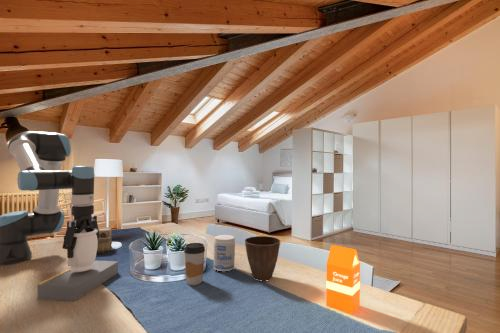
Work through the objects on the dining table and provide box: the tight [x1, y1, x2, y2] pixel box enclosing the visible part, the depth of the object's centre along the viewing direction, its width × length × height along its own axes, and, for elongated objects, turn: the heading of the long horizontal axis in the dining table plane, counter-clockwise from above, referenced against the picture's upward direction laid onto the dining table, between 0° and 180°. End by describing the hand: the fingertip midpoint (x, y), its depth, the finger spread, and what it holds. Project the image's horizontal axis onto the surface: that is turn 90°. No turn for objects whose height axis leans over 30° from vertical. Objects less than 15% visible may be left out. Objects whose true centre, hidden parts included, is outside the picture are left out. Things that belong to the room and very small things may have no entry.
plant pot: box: [244, 235, 281, 282], centre depth 119 cm, size 15×15×16 cm
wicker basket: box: [96, 226, 113, 255], centre depth 155 cm, size 15×14×11 cm
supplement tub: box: [213, 234, 236, 272], centre depth 129 cm, size 10×10×15 cm
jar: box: [69, 228, 98, 272], centre depth 110 cm, size 11×10×15 cm
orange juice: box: [325, 244, 361, 315], centre depth 95 cm, size 8×9×20 cm
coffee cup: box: [183, 242, 206, 286], centre depth 114 cm, size 8×8×15 cm
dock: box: [37, 259, 119, 302], centre depth 110 cm, size 26×14×5 cm, turn 174°
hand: (82, 261), depth 111 cm, fingers closed on jar, 10 cm apart
